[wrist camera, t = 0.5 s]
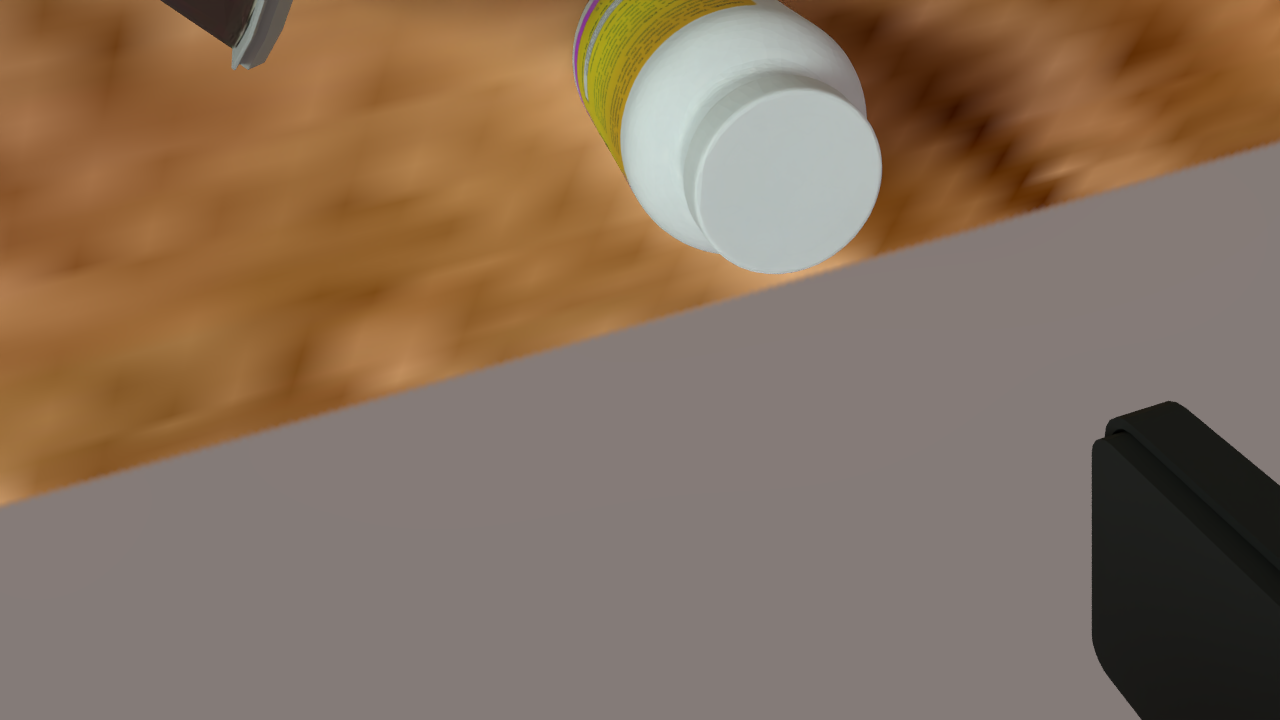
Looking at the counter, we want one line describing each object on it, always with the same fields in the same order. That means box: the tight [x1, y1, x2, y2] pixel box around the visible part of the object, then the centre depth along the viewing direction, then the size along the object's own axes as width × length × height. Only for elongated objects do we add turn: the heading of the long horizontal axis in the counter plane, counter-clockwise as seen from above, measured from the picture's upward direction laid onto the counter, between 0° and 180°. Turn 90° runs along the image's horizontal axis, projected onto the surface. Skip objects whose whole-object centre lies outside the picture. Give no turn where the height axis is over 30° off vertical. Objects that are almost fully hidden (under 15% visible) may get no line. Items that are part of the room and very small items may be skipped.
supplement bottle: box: [572, 0, 882, 274], centre depth 31 cm, size 7×7×13 cm
